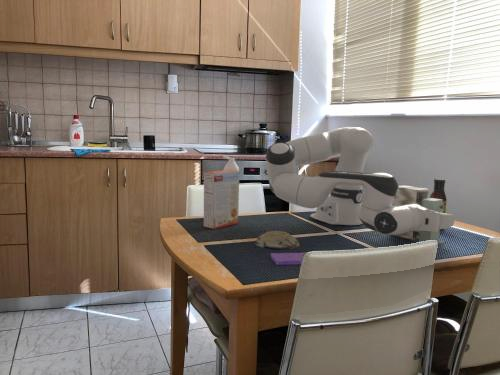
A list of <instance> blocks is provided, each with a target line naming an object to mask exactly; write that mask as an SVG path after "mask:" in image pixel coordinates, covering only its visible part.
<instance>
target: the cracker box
mask: <svg viewBox="0 0 500 375" xmlns="http://www.w3.org/2000/svg"><path fill="white" fill-rule="evenodd" d="M239 193H240V170H239V171H235V170H224V169H222V170H214V171H212V170H211V171H206V172H205V171H204V172H203V227H204V228H207V229H212V230H216V229H221V228H225V227H229V226H233V225H237V224H238V223H239V203H240V202H239V200H240V197H239V195H240V194H239Z"/></svg>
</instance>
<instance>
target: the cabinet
mask: <svg viewBox="0 0 500 375" xmlns="http://www.w3.org/2000/svg"><path fill="white" fill-rule="evenodd" d="M398 186H399V187H398V189H397V192H396V195H395V197H394V201H393V205H392V207H393V206H397V205H408V204H418V205H420V206H421V207H422V205H423V199H428V198H429V194H430V188H426V187H420V186H418V187H417V186H411V185H405V184H402V185H398ZM394 236H396V237H400V238H404V239H407V240H408V239H409V240H410V242H412V243H415V242H419V236H420V231H412V232H406V233H403V234H399V235H394ZM444 243H445V244H446V243H447V241H444V240H440V239H439V241H438V245H437V246H440V245H442V244H444Z"/></svg>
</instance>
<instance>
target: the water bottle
mask: <svg viewBox="0 0 500 375" xmlns="http://www.w3.org/2000/svg"><path fill="white" fill-rule="evenodd" d="M222 159H225V160H228V161H227V163H225V166H224V167H223V170H235V171H239V172H240V167H239V166H238V164H237V162H236V160H235V157H230V156H228V155H223V156H222Z"/></svg>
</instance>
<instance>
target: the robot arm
mask: <svg viewBox="0 0 500 375" xmlns="http://www.w3.org/2000/svg"><path fill="white" fill-rule="evenodd" d="M373 145H374V137H373V135H372V134H371V133H370V131H368V130H367V129H365V128H362V127H355V126H344V127H343V126H342V127H340V128H335V129H332V130H328V131H325V132H322V133H317V134H313V135H312V134H311V135H307V136H304V137H298V138H296V139H291V140H290V141H287V142H284V141H283V142H281V141H280V142H275V143H273V144H271V145H270V146H268V148H267V150H266V154H265V159H266V172H267V177H268V186H269V187H270V188H269V189H270V190H271V192H272V193H273V194H275V196H276V197H277V198H279V199H281V200H282V201H285V202H287V203H290V204H292V205H295V206H298V207H301V208H305V209H311V210H312V209H315V208H316V212H315V213H311V214H310V218H312V219H314V220H318V221H321V222H324V223H326V224H329V225H339V226H340V225H341V226H342V225H344V226H357V225H358V226H359V225H362V224H363V226H365V228H367V229H370V230H372V231H374V232H378V233H380V234H382V235H385V236H386V235H387V236H395V235H399V234H403V233H406V232H412V231H428V232H437V231H438V229H440V230H444V229H445V230H446V229H448V228H451V227H453V226H454V224H455V215H454V214H452V213H442V212H436V211H433V210H429V209H426V208H424V207H421V206H420V205H418V204H408V205H397V206H393V207H392V205H393V201H394V197H395V195H396V192H397V189H398V187H399V186H400V185H399V184H398V182H397V180H396V178H395V176H394V175H392V174H390V173H386V172H364V169H365V165H366V162H367V158H368V155H369V152H370V151H371V149H372V147H373ZM336 157H339V159H338V163H337V165H336V167H335V170H326V171H322V172H320V173H319V175H316V176H307V175H302V174H298V173H297V167H300V166H306V165H307V166H308V165H312V164H315V163H320V162H325V161H328V160H330V159H333V158H336ZM363 187H364V192H363Z"/></svg>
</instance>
